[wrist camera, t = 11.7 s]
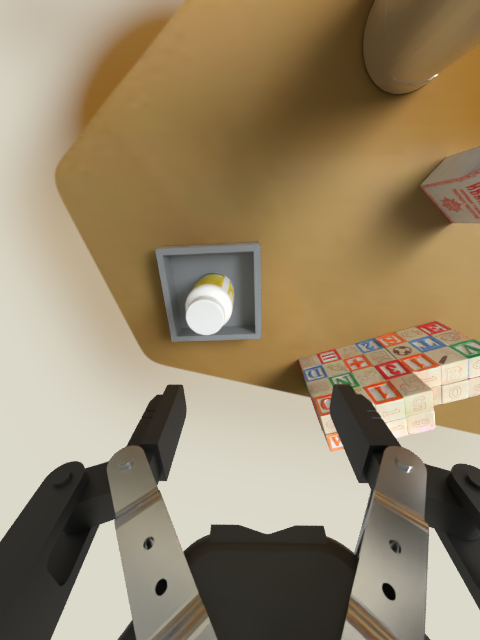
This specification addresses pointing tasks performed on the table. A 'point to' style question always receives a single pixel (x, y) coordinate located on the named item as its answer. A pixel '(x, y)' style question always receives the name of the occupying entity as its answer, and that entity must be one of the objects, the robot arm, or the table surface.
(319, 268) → the table surface
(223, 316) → the supplement bottle
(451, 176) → the herbal tea box
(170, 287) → the box
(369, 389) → the stack of blocks
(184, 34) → the table surface
